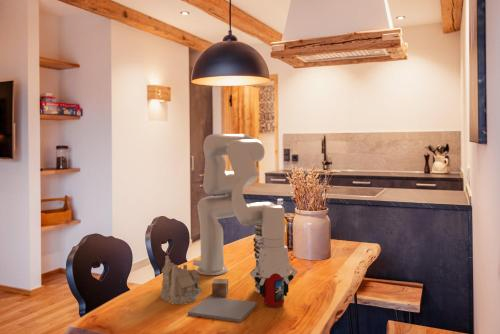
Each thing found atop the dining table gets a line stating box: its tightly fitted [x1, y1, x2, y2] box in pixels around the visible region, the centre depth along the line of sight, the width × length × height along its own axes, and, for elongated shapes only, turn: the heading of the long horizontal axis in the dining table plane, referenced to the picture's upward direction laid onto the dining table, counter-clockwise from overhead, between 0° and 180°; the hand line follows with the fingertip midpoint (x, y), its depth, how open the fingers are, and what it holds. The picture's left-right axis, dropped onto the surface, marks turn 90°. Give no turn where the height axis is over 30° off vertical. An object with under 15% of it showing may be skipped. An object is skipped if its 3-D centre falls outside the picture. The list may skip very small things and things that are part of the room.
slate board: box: [187, 295, 258, 323], centre depth 144 cm, size 18×15×1 cm
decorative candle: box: [252, 224, 262, 294], centre depth 163 cm, size 9×9×25 cm
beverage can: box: [263, 273, 285, 308], centre depth 148 cm, size 7×7×12 cm
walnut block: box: [211, 278, 229, 298], centre depth 159 cm, size 5×5×5 cm
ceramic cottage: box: [159, 255, 202, 305], centre depth 158 cm, size 16×16×15 cm
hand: (274, 294), depth 148 cm, fingers closed on beverage can, 6 cm apart
